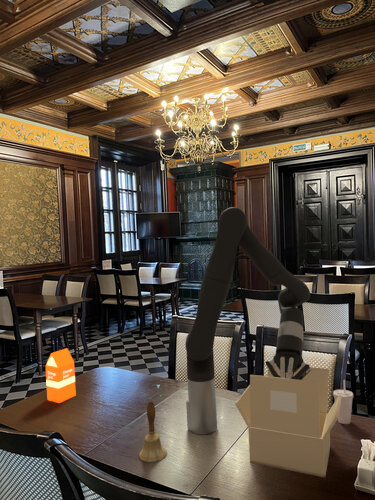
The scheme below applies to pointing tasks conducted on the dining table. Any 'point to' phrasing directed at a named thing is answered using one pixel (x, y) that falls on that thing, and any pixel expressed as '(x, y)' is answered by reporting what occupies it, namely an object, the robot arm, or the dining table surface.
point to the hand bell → (152, 440)
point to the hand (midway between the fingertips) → (285, 396)
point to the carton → (291, 445)
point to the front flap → (285, 405)
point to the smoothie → (344, 404)
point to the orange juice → (60, 376)
